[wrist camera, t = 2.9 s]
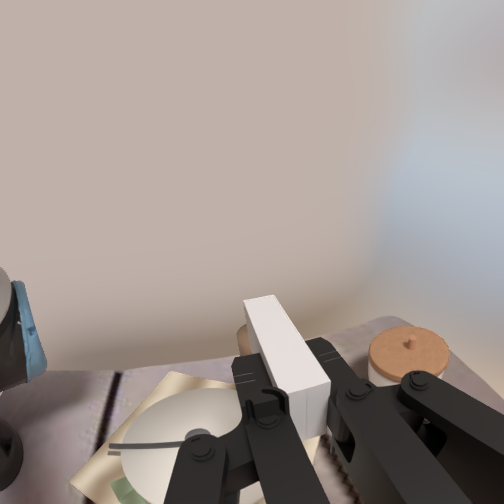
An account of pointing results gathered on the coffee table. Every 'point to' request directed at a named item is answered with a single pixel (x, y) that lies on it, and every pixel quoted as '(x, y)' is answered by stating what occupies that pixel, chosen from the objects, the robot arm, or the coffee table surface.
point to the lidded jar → (405, 354)
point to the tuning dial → (179, 434)
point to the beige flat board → (109, 460)
